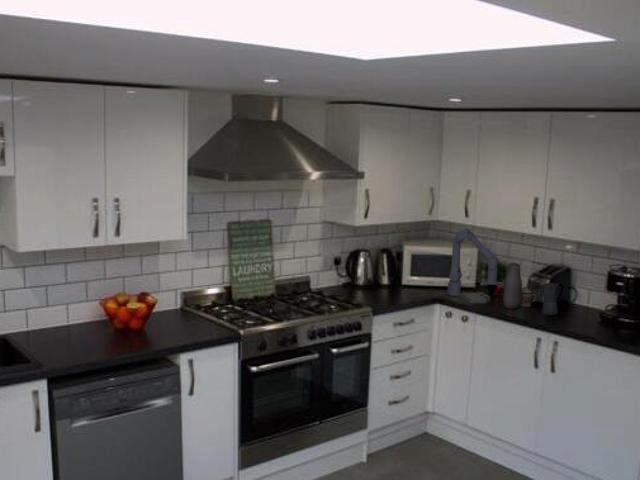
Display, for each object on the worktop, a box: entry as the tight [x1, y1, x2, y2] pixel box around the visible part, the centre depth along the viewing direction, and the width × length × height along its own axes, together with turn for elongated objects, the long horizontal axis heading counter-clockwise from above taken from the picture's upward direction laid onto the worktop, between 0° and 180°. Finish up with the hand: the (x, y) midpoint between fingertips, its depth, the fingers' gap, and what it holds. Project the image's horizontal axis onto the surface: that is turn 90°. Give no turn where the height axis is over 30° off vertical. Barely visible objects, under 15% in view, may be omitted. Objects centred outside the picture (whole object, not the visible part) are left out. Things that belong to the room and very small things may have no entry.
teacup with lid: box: [519, 286, 537, 308], centre depth 413 cm, size 12×9×12 cm
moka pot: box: [540, 280, 565, 316], centre depth 393 cm, size 10×15×20 cm, turn 111°
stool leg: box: [476, 290, 491, 303], centre depth 428 cm, size 16×3×3 cm, turn 8°
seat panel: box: [460, 292, 487, 304], centre depth 425 cm, size 18×10×2 cm, turn 7°
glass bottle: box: [502, 262, 523, 310], centre depth 402 cm, size 10×10×28 cm
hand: (491, 296), depth 428 cm, fingers closed
